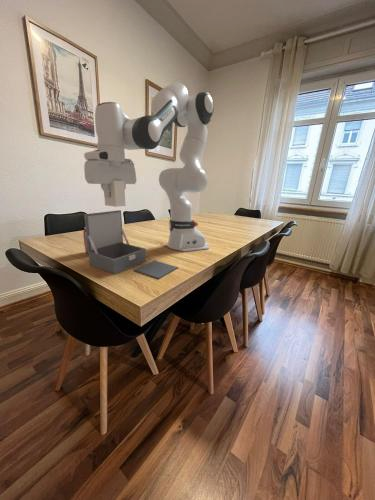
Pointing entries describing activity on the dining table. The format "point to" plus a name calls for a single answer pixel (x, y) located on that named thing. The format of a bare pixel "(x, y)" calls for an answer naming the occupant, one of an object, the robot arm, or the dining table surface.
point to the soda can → (85, 240)
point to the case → (110, 243)
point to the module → (116, 194)
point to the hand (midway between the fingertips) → (114, 196)
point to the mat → (156, 269)
